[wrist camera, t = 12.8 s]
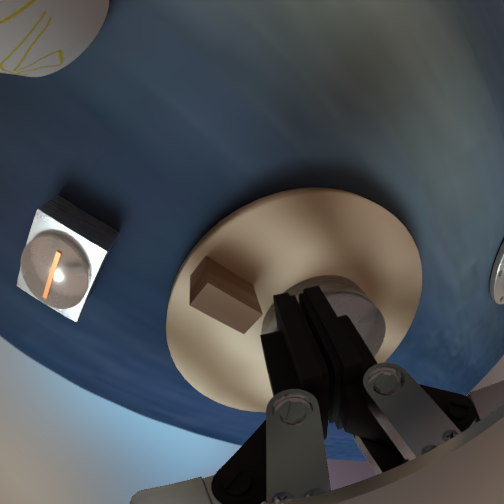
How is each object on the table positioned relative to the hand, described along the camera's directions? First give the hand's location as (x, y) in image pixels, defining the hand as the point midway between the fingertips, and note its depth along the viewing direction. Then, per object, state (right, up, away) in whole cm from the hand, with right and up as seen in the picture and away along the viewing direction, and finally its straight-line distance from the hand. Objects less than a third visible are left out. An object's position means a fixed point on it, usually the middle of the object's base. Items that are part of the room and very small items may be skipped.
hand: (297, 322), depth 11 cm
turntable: (+2, -2, +12) cm, 12 cm away
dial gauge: (-14, +3, +7) cm, 16 cm away
